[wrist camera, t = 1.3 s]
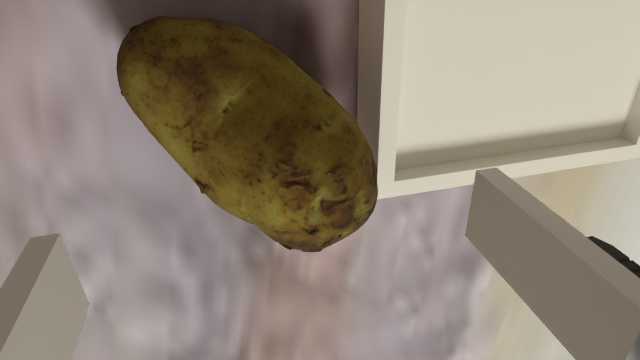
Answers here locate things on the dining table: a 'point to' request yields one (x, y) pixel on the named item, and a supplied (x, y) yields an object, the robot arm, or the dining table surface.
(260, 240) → the dining table surface
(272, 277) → the dining table surface
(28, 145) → the dining table surface
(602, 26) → the rectangular tray
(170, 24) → the potato
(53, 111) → the dining table surface
